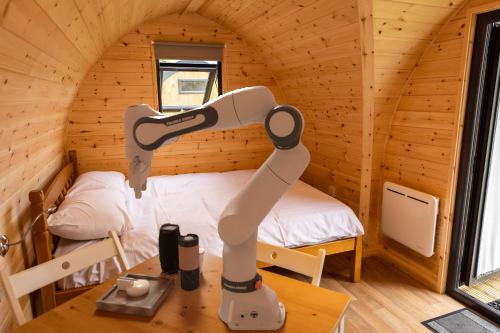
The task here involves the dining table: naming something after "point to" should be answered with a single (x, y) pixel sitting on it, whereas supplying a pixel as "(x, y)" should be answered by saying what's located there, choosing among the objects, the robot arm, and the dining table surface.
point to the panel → (137, 305)
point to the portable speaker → (169, 248)
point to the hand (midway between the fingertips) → (141, 194)
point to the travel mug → (189, 262)
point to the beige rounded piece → (133, 286)
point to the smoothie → (201, 257)
